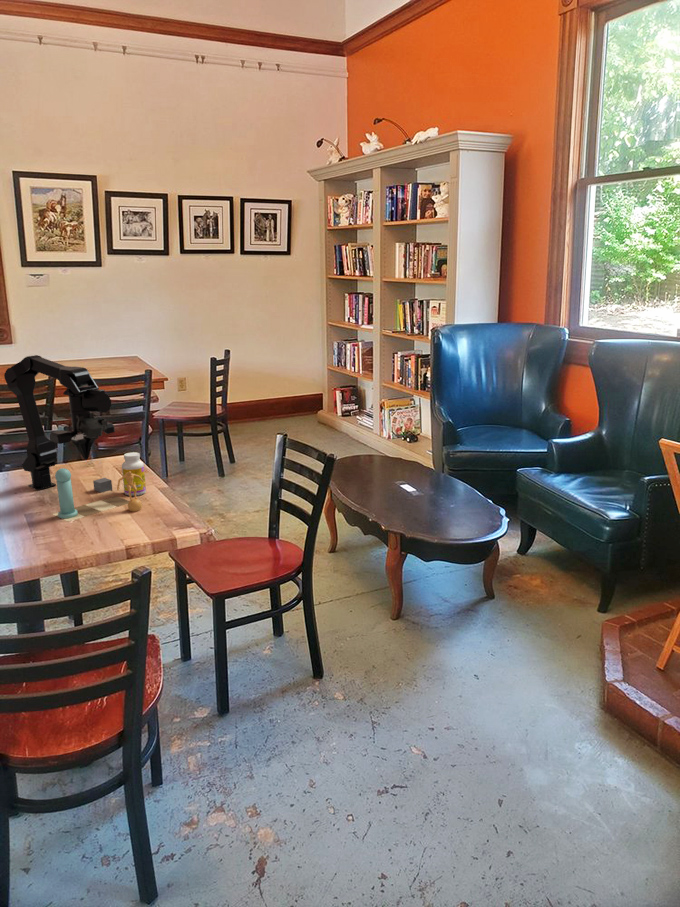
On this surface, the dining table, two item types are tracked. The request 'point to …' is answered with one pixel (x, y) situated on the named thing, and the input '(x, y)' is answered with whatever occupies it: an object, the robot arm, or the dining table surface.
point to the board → (97, 507)
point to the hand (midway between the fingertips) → (86, 459)
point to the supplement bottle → (135, 468)
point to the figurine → (133, 503)
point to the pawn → (65, 494)
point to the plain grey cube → (102, 485)
